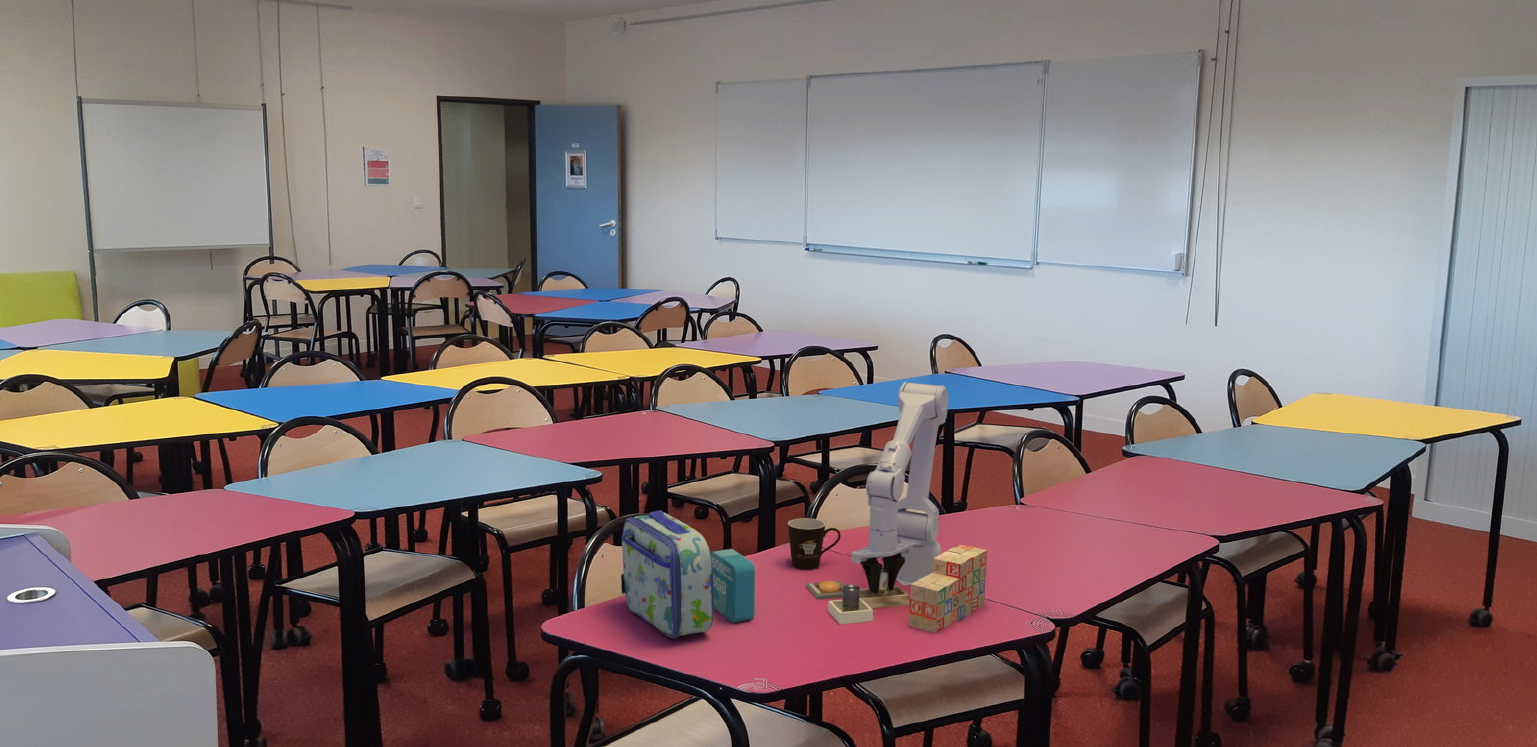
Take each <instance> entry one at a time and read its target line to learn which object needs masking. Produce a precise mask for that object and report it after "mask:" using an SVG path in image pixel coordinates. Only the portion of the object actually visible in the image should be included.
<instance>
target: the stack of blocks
mask: <svg viewBox="0 0 1537 747" xmlns="http://www.w3.org/2000/svg"><path fill="white" fill-rule="evenodd" d="M987 553H988V551H987V549H983V548H979V547H976V546H975V547H973V546H969V545H963V544H959V545H957V546H955V547H954V546H953V547H951V548H950V549H948V550H947V551H944V552H943V553H942V552H941V555H939V556H937V557H935V558H934V560H933V573H931V574H929V575H927V576H925V577H923V578H921V579H919V580H918V581H916V582H914V583H912V584H911V585H910V598H909V609H908V610H909V614H908V615H909V616H908V626H909V627H913V628H916V629H920V630H923V631H927V632H930V633H934V634H936V633H937V632H939V631H940V630H942V629H945V628H947V627H948V626H950V625H951V624H952V623H954V622H960V621H961V620H963V619H964V618H965V617H967V616H969V615H970V614H972V613H974V612H975V611H978V610H979V609H981V608H983V607H984V606H985V602H986V601H985V597H986V592H985V591H986V577H987V557H988V556H987V555H988V554H987Z"/></svg>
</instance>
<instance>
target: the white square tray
mask: <svg viewBox="0 0 1537 747" xmlns="http://www.w3.org/2000/svg"><path fill="white" fill-rule="evenodd" d="M827 605H828V609H827V610H828V611H827V612H828V613H829V614H830V616H832V617H833V619H834V620H835V621H836V622H837V623H838V624H839V625H849V624H857V623H868V622H874V609H873V608H870V607H869V606H868V605H867V604H866V603H865V602H864V601H863V600H862V599H861V598H859V611H849V612H842V599H836V600H833V599H832V600H829V601H828V604H827Z"/></svg>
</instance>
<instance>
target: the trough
mask: <svg viewBox="0 0 1537 747" xmlns="http://www.w3.org/2000/svg"><path fill="white" fill-rule="evenodd" d="M859 598H861V599H862V600H863V601H864V602H865V603H866V604H867V605H868V606H869V607H870V608H871V609H880V608H881V609H883V608H892V607H904V606H910V595H909V594H908V592H906V591H905V590H904V589H903V588H902V587H901V586H900V585H894V588H893V590H891V591H890V590H889V591H888V596H882V597H872V592H871V591H870V590H869V587H868V588H860V593H859Z"/></svg>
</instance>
